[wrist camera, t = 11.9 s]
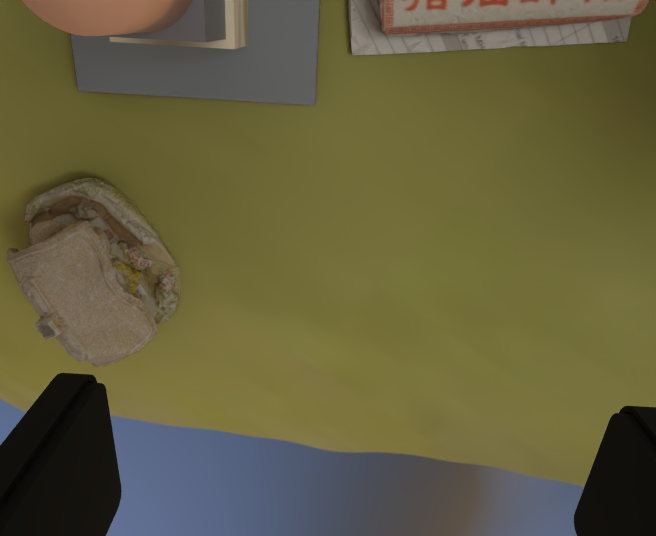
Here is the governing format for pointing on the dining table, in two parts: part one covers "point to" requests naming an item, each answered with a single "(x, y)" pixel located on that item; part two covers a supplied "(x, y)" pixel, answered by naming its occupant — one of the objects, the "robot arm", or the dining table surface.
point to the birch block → (234, 39)
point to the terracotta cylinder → (109, 15)
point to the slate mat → (214, 61)
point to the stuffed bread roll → (95, 271)
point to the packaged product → (485, 24)
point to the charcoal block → (192, 24)
